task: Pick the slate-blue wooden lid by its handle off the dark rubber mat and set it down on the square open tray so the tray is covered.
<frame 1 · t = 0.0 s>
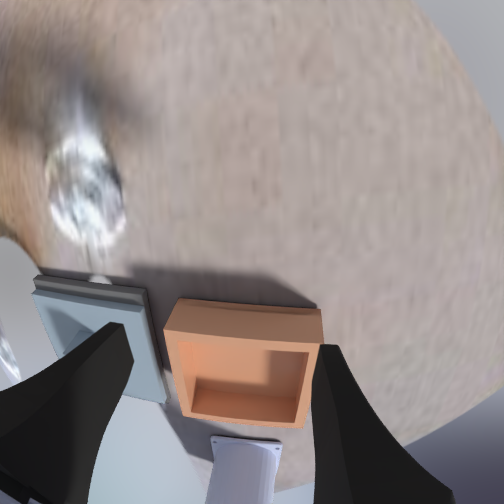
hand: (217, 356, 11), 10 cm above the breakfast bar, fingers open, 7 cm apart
lid: (100, 347, 25), point 1 cm above the breakfast bar, touching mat
square open tray: (247, 354, 25), on the breakfast bar
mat: (104, 341, 26), on the breakfast bar
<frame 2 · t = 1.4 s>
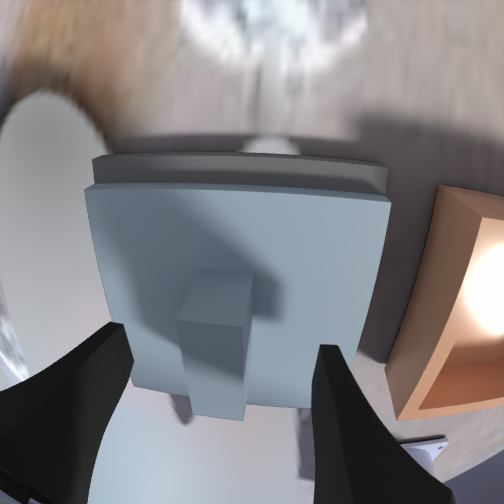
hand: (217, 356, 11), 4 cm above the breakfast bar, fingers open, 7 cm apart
lid: (231, 311, 14), point 1 cm above the breakfast bar, touching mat
square open tray: (493, 294, 13), on the breakfast bar
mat: (234, 300, 14), on the breakfast bar
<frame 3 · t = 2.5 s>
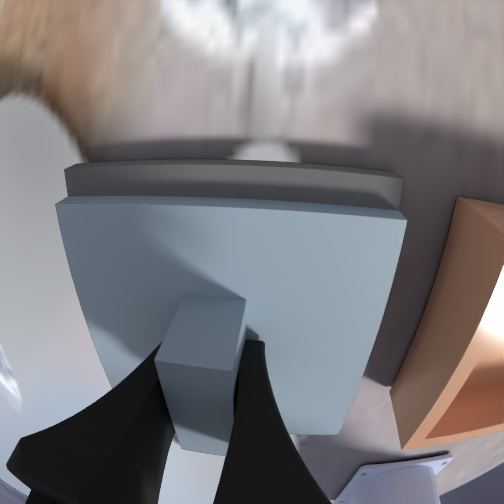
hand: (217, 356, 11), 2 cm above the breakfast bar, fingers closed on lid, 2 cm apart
lid: (222, 337, 12), point 1 cm above the breakfast bar, touching gripper, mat
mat: (225, 324, 13), on the breakfast bar
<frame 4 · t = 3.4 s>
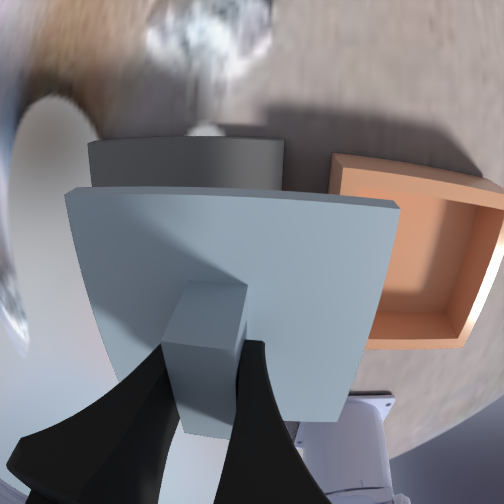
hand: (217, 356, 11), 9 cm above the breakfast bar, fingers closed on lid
lid: (224, 324, 13), point 7 cm above the breakfast bar, touching gripper
square open tray: (402, 246, 18), on the breakfast bar
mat: (185, 245, 19), on the breakfast bar
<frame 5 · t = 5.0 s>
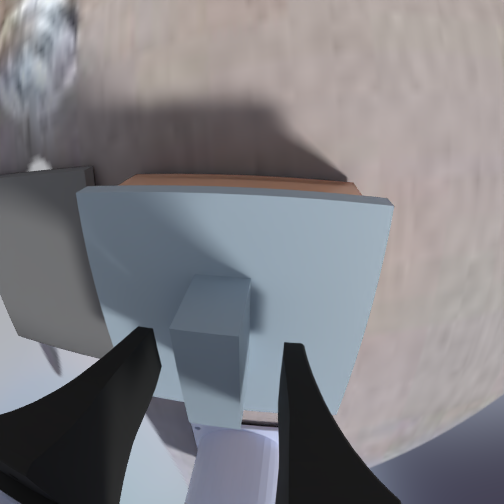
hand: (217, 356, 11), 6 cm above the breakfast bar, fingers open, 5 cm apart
lid: (227, 317, 13), point 3 cm above the breakfast bar, touching square open tray
square open tray: (239, 273, 16), on the breakfast bar
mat: (44, 269, 18), on the breakfast bar
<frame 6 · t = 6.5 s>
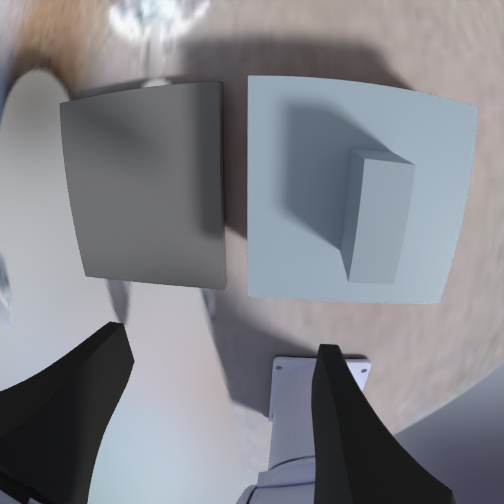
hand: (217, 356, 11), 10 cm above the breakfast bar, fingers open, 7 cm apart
lid: (362, 197, 15), point 3 cm above the breakfast bar, touching square open tray
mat: (140, 189, 20), on the breakfast bar
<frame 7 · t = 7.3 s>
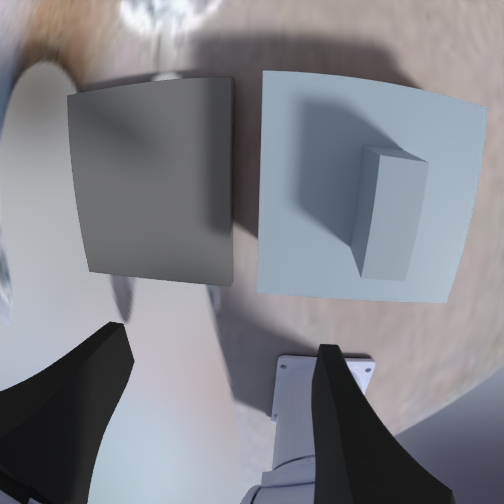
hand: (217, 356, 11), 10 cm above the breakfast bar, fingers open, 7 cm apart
lid: (373, 195, 15), point 3 cm above the breakfast bar, touching square open tray
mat: (148, 184, 20), on the breakfast bar
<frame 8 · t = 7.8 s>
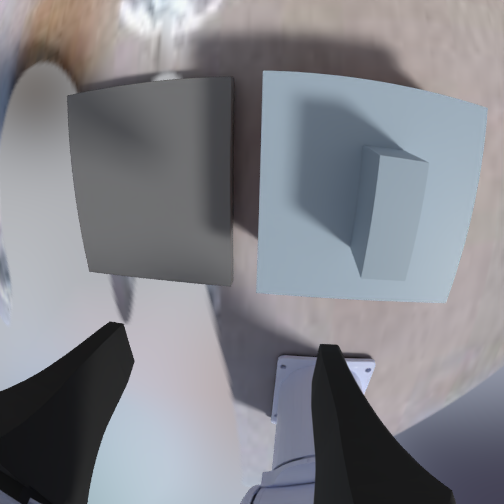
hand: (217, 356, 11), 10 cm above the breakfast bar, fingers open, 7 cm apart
lid: (373, 195, 15), point 3 cm above the breakfast bar, touching square open tray
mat: (148, 184, 20), on the breakfast bar
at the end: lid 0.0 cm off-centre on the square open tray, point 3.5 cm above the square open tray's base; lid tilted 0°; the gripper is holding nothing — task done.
